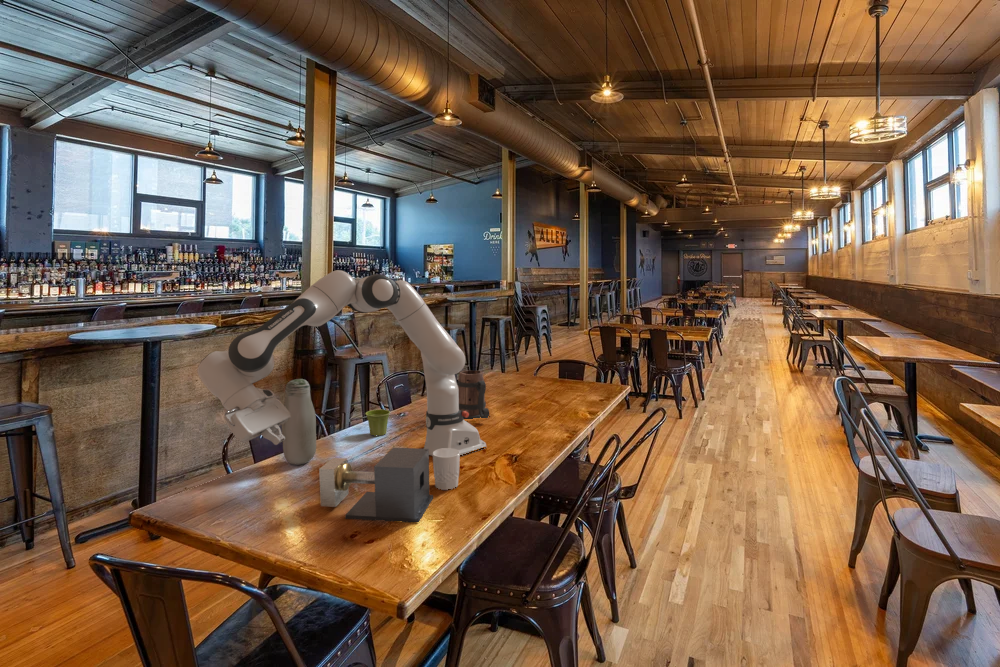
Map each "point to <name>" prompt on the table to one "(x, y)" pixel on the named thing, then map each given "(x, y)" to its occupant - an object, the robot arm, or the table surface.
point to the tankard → (472, 394)
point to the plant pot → (378, 421)
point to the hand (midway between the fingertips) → (280, 442)
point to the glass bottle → (299, 423)
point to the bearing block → (397, 488)
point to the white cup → (446, 468)
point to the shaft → (339, 480)
